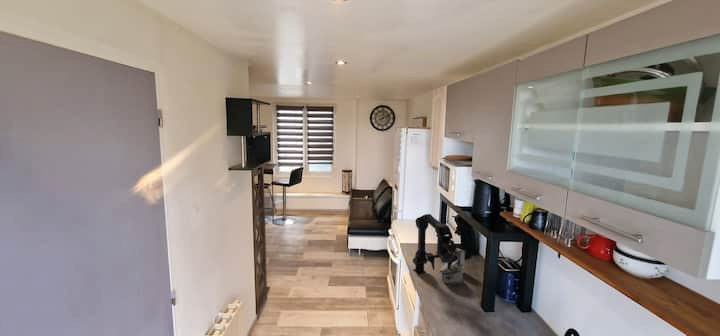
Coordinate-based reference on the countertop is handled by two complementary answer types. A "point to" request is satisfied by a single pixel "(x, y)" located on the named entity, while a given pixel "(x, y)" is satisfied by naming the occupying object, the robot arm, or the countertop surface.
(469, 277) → the countertop surface
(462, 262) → the coffee box
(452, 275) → the cooker pot
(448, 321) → the countertop surface
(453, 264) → the cooker lid
